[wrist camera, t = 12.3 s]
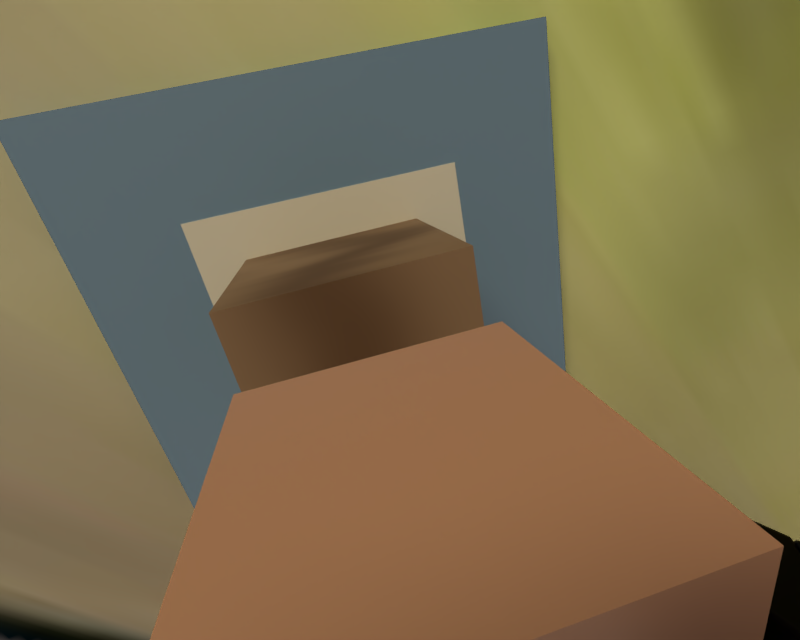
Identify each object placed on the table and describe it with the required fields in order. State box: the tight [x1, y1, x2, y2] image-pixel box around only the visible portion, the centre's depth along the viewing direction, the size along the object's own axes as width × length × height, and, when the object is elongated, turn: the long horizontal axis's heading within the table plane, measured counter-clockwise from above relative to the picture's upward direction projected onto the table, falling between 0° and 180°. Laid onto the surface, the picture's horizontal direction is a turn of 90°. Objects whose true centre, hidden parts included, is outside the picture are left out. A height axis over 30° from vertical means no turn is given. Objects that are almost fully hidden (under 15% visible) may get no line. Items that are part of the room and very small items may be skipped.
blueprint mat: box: [0, 17, 566, 509], centre depth 17 cm, size 18×16×1 cm
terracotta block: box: [150, 321, 784, 640], centre depth 6 cm, size 5×5×5 cm
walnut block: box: [209, 218, 484, 392], centre depth 14 cm, size 6×6×6 cm
